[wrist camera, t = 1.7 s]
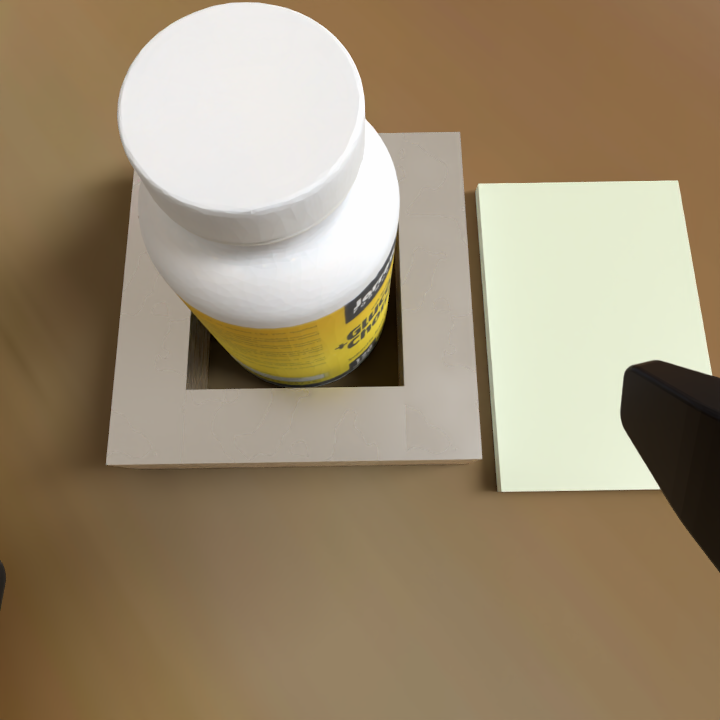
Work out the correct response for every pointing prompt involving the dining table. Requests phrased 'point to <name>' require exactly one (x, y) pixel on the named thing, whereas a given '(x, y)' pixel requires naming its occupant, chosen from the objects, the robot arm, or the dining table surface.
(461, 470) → the dining table surface
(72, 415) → the dining table surface
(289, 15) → the pill bottle
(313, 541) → the dining table surface
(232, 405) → the collar
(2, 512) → the dining table surface
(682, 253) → the mat
